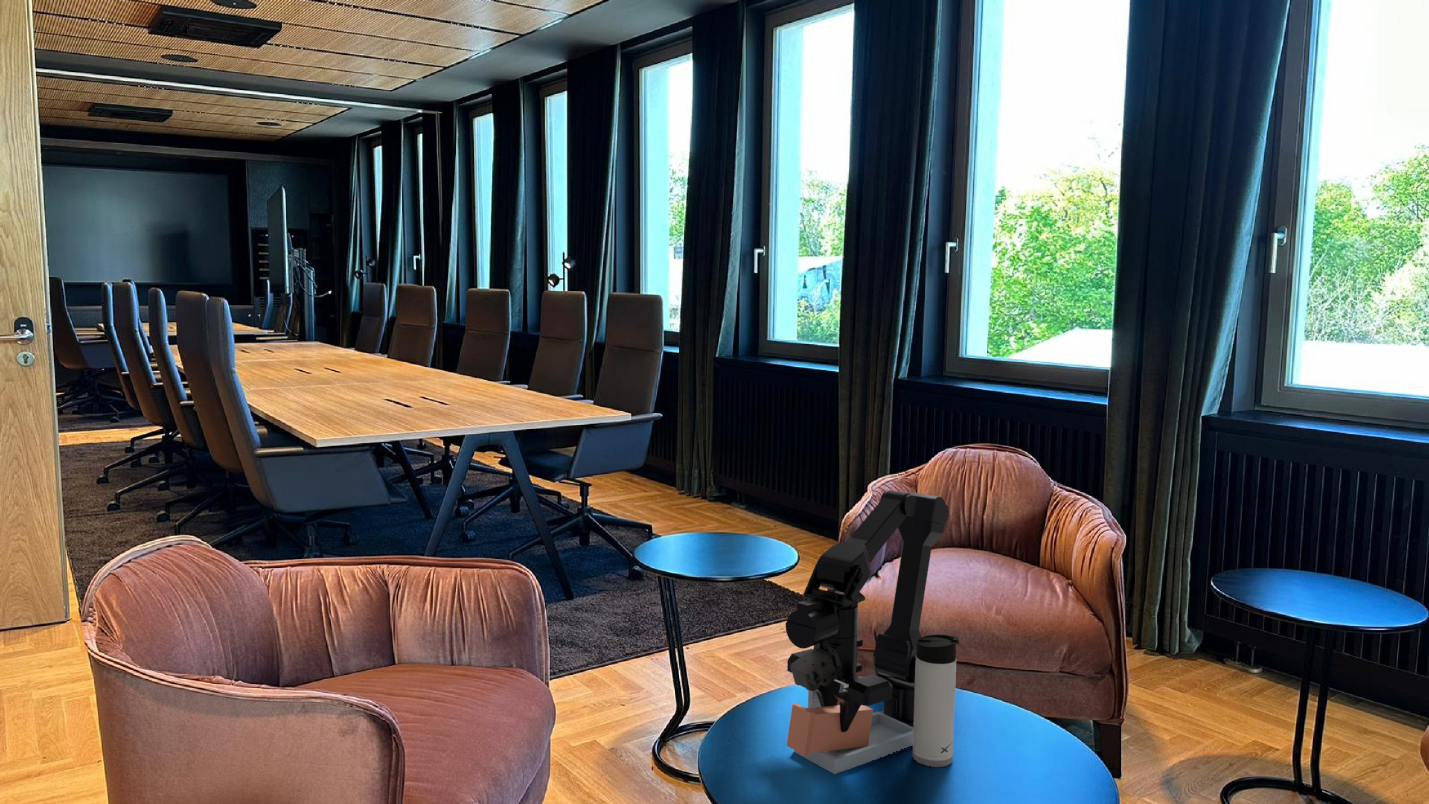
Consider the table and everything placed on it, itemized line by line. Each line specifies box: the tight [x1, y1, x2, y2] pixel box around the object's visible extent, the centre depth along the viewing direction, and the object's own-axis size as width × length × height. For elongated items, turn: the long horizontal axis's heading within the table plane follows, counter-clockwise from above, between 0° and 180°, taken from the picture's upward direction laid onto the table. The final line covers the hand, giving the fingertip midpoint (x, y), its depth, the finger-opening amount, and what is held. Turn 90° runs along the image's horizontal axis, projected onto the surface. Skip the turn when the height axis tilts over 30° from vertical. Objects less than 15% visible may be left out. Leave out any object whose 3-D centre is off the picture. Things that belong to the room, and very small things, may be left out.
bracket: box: [807, 684, 844, 708], centre depth 178 cm, size 3×6×8 cm, turn 36°
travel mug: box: [912, 633, 960, 768], centre depth 161 cm, size 6×7×20 cm
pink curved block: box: [786, 703, 874, 756], centre depth 162 cm, size 14×4×7 cm, turn 126°
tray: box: [793, 711, 914, 775], centre depth 166 cm, size 19×10×2 cm, turn 126°
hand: (836, 727), depth 163 cm, fingers closed on pink curved block, 3 cm apart
